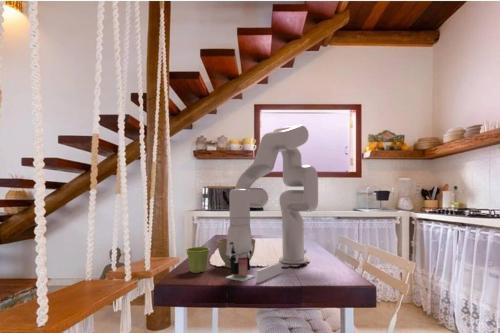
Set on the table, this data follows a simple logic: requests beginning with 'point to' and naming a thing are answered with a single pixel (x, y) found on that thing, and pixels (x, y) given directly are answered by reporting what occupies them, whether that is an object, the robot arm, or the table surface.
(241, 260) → the small box
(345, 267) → the table surface
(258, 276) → the low wall
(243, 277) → the pad
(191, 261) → the plant pot
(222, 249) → the planter bowl
